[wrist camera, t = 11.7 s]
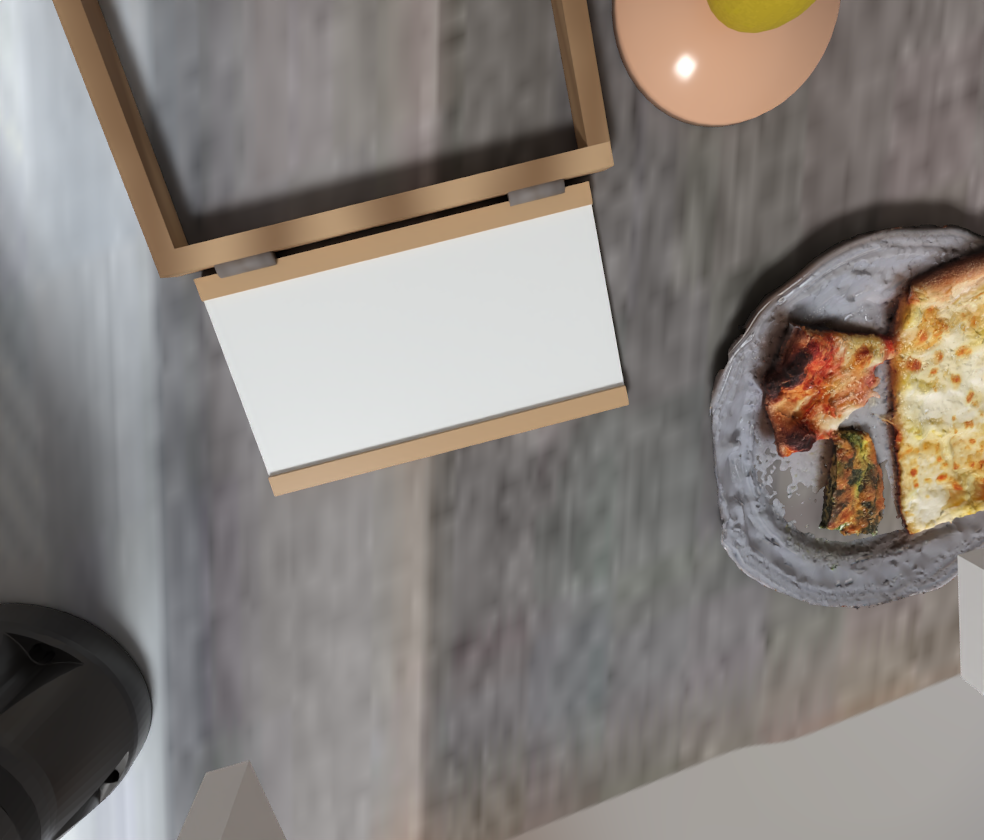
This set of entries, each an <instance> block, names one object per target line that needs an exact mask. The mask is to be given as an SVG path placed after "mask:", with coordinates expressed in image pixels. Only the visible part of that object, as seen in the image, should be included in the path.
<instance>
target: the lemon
mask: <svg viewBox="0 0 984 840" xmlns="http://www.w3.org/2000/svg"><path fill="white" fill-rule="evenodd" d="M815 1H816V0H707V3H708V5H709V7H710V10H711V11H712V12H713V14H714V15H715V17H716V18H717V19H718V20H719V21H720V22H721V23H723V24H724V25H725V26H727V27H728V28H730V29H733V30H736V31H738V32H745V33H759V32H763V31H768V30H772V29H775V28H778V27H780V26H782V25H784V24H786V23H787V22H789V21H791V20H793V19H795V18H796V17H798V16H799V15H801V14H802V13H803V12H804V11H805V10H807V9H808V8H809V7H810V6H811V5H812V4H813V3H814V2H815Z"/></svg>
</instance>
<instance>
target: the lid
mask: <svg viewBox="0 0 984 840" xmlns="http://www.w3.org/2000/svg"><path fill="white" fill-rule="evenodd" d="M592 204H593V202H592V196H591V191H590V185H589V181H587V182H583V183H579V184H575V185H571V186H567V187H565V193H562V194H558V195H554V196H550V197H546V198H542V199H538V200H534V201H530V202H526V203H522V204H518V205H514V206H510V203H509V201H507V202H503V203H499V204H495V205H491V206H487V207H483V208H479V209H475V210H471V211H467V212H463V213H459V214H455V215H451V216H447V217H443V218H439V219H435V220H431V221H427V222H423V223H419V224H415V225H410V226H406V227H402V228H398V229H394V230H390V231H386V232H382V233H378V234H374V235H370V236H366V237H362V238H358V239H354V240H350V241H346V242H342V243H338V244H334V245H330V246H326V247H322V248H318V249H314V250H310V251H306V252H302V253H298V254H294V255H290V256H286V257H282V258H278V259H276V262H277V265H273V266H269V267H265V268H261V269H257V270H253V271H249V272H245V273H241V274H237V275H233V276H229V277H225V278H220V277H219V276H218V274H213V275H209V276H205V277H201V278H197V279H194V282H195V284H196V287H197V290H198V292H199V295H200V298H201V300H202V301H204V302H205V305H206V308H207V310H208V313H209V316H210V318H211V321H212V324H213V326H214V329H215V332H216V334H217V337H218V340H219V342H220V345H221V348H222V351H223V353H224V356H225V359H226V361H227V364H228V367H229V369H230V372H231V375H232V377H233V380H234V383H235V385H236V388H237V391H238V393H239V396H240V399H241V401H242V404H243V407H244V409H245V412H246V415H247V418H248V420H249V423H250V426H251V428H252V431H253V434H254V436H255V439H256V442H257V444H258V447H259V450H260V452H261V455H262V458H263V460H264V463H265V466H266V468H267V471H268V474H269V478H268V479H269V482H270V485H271V487H272V490H273V493H274V495H275V496H278V495H282V494H286V493H290V492H294V491H298V490H302V489H305V488H309V487H313V486H317V485H321V484H325V483H329V482H332V481H336V480H340V479H344V478H348V477H352V476H356V475H360V474H363V473H367V472H371V471H375V470H379V469H383V468H387V467H390V466H394V465H398V464H402V463H406V462H410V461H414V460H417V459H421V458H425V457H429V456H433V455H437V454H441V453H444V452H448V451H452V450H456V449H460V448H464V447H468V446H471V445H475V444H479V443H483V442H487V441H491V440H495V439H499V438H502V437H506V436H510V435H514V434H518V433H522V432H526V431H529V430H533V429H537V428H541V427H545V426H549V425H553V424H556V423H560V422H564V421H568V420H572V419H576V418H580V417H583V416H587V415H591V414H595V413H599V412H603V411H607V410H611V409H614V408H618V407H622V406H626V405H629V402H628V396H627V391H626V386H625V385H624V382H623V376H622V371H621V365H620V359H619V354H618V348H617V343H616V337H615V332H614V326H613V321H612V315H611V310H610V304H609V299H608V293H607V287H606V282H605V276H604V271H603V265H602V260H601V254H600V249H599V243H598V238H597V232H596V227H595V221H594V215H593V210H592Z"/></svg>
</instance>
